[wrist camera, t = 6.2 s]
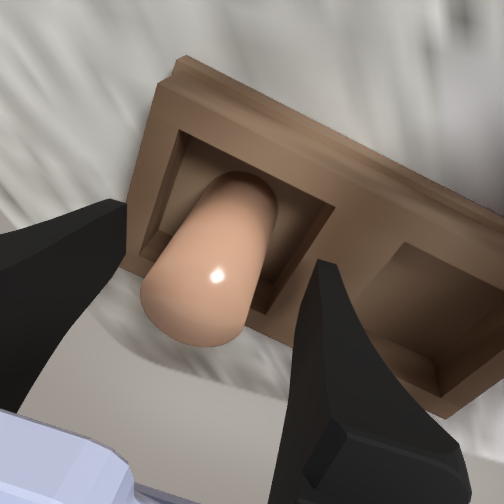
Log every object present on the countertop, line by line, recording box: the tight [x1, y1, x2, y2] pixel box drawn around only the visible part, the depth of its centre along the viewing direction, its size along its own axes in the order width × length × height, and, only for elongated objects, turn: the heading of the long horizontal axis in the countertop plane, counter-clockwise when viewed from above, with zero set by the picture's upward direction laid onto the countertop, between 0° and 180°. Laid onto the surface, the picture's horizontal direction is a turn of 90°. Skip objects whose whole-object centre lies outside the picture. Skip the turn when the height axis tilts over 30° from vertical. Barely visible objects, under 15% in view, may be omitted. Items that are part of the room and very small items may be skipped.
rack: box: [119, 55, 504, 420], centre depth 16 cm, size 16×8×3 cm, turn 66°
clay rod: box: [140, 171, 279, 347], centre depth 14 cm, size 3×3×6 cm
